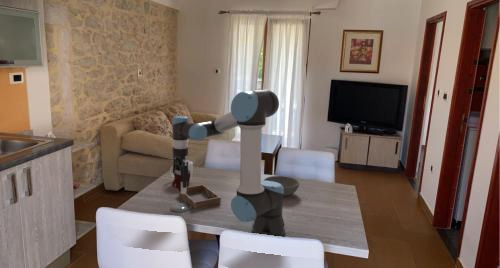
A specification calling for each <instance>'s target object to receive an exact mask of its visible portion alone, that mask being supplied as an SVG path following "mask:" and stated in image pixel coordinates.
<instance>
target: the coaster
mask: <svg viewBox="0 0 500 268" xmlns="http://www.w3.org/2000/svg"><path fill="white" fill-rule="evenodd" d="M190 209H191V206H190V205H189V204H188V203H186V202H179V203H175V204H172V205H171V206H170V210H171V211H172V212H173V213H185V212H188V211H190Z"/></svg>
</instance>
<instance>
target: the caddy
mask: <svg viewBox="0 0 500 268" xmlns="http://www.w3.org/2000/svg"><path fill="white" fill-rule="evenodd" d="M197 193H204V194H205V195H206V196H208V197H209V198H208V199H203V200H198V201H195V200H194V199H193V198H192V197H191V196H189V195H190V194H191V195H192V194H197ZM178 197H180V198H181V199H182V200H183V201H184V203H186V204H189V205H190V208H192V209H193V210H201V209H205V208H210V207H214V206H220V205H221V204H222V203H221V202H222V201H221V200H222V197H221V196H220V195H219V194H217V193H215V191H213V190H211V189H210V188H209V187H207V186H206V185H205V184H198V185H192V186H188V187H187V193H184V194H181V191H178Z"/></svg>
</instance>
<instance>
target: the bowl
mask: <svg viewBox="0 0 500 268" xmlns="http://www.w3.org/2000/svg"><path fill="white" fill-rule="evenodd" d="M262 181H273V182H277V183H280V184H281V185H282V186H283V188H284V195H283V197H288V196H291V195H293V194H294V193H296V191H297V190H298V188H299V187H300V182H299V180H297V178H293V177H289V176H284V175H283V176H282V175H276V176H275V175H273V176H268V177H266V178H264V179H263V180H262Z"/></svg>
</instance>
